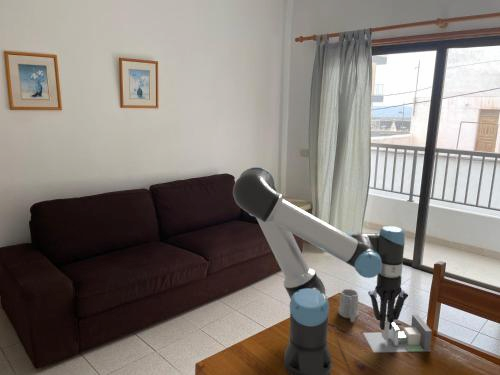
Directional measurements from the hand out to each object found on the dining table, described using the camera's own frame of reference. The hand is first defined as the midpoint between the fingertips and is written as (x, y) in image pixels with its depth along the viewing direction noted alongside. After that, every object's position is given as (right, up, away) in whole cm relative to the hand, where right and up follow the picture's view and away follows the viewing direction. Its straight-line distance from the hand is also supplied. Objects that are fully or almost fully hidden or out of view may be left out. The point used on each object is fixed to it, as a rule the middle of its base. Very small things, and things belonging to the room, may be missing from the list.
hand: (384, 337), depth 131 cm
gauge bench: (+4, -3, +1) cm, 5 cm away
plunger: (+5, -1, 0) cm, 5 cm away
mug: (-8, 0, +17) cm, 19 cm away
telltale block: (+9, -2, +1) cm, 10 cm away
